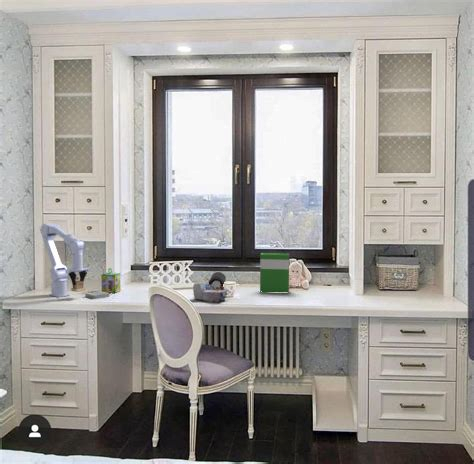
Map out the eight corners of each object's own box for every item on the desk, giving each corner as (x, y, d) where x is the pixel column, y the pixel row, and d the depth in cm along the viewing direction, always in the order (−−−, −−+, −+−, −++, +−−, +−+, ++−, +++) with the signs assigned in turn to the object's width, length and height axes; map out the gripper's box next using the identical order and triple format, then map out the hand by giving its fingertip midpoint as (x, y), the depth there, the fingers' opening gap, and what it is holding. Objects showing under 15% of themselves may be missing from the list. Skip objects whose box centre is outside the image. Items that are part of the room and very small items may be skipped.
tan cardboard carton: (71, 290, 341) (71, 281, 340) (78, 289, 344) (78, 280, 344) (77, 292, 336) (77, 282, 335) (85, 290, 339) (84, 281, 339)
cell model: (198, 279, 347) (230, 281, 341) (198, 297, 347) (230, 300, 342) (190, 282, 334) (223, 285, 328) (190, 301, 335) (223, 304, 329)
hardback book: (288, 291, 369) (289, 253, 367) (288, 293, 362) (288, 255, 360) (261, 290, 371) (261, 253, 369) (260, 292, 364) (260, 254, 362)
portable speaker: (223, 293, 361) (224, 277, 360) (207, 293, 361) (208, 277, 360) (226, 286, 386) (226, 271, 386) (211, 286, 387) (211, 271, 386)
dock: (85, 296, 346) (85, 293, 346) (99, 294, 353) (99, 291, 353) (94, 298, 339) (94, 295, 339) (109, 296, 346) (109, 293, 346)
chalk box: (115, 293, 357) (115, 269, 356) (101, 292, 359) (100, 269, 358) (121, 291, 366) (120, 267, 365) (107, 290, 368) (107, 267, 367)
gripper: (69, 263, 331) (70, 286, 332) (92, 261, 341) (92, 283, 342) (63, 261, 336) (63, 285, 337) (85, 259, 346) (86, 282, 347)
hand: (77, 284), depth 340 cm, fingers closed on tan cardboard carton, 4 cm apart
